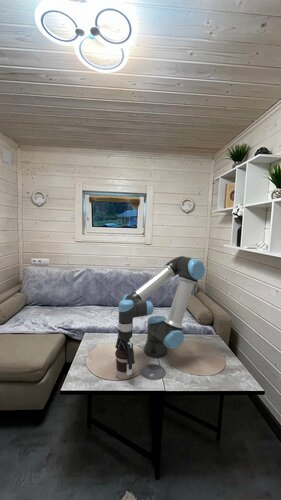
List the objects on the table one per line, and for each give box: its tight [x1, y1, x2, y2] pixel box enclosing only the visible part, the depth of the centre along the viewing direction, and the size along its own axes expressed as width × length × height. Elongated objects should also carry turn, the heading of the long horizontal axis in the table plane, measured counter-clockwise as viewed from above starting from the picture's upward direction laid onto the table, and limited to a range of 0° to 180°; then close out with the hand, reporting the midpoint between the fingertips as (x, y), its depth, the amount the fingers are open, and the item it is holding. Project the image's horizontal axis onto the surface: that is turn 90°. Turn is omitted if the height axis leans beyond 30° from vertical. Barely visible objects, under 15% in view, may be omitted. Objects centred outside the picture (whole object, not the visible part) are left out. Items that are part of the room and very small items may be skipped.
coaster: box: [140, 363, 167, 381], centre depth 139 cm, size 14×14×1 cm
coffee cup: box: [114, 347, 135, 380], centre depth 134 cm, size 10×10×15 cm
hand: (124, 368), depth 134 cm, fingers open, 12 cm apart
